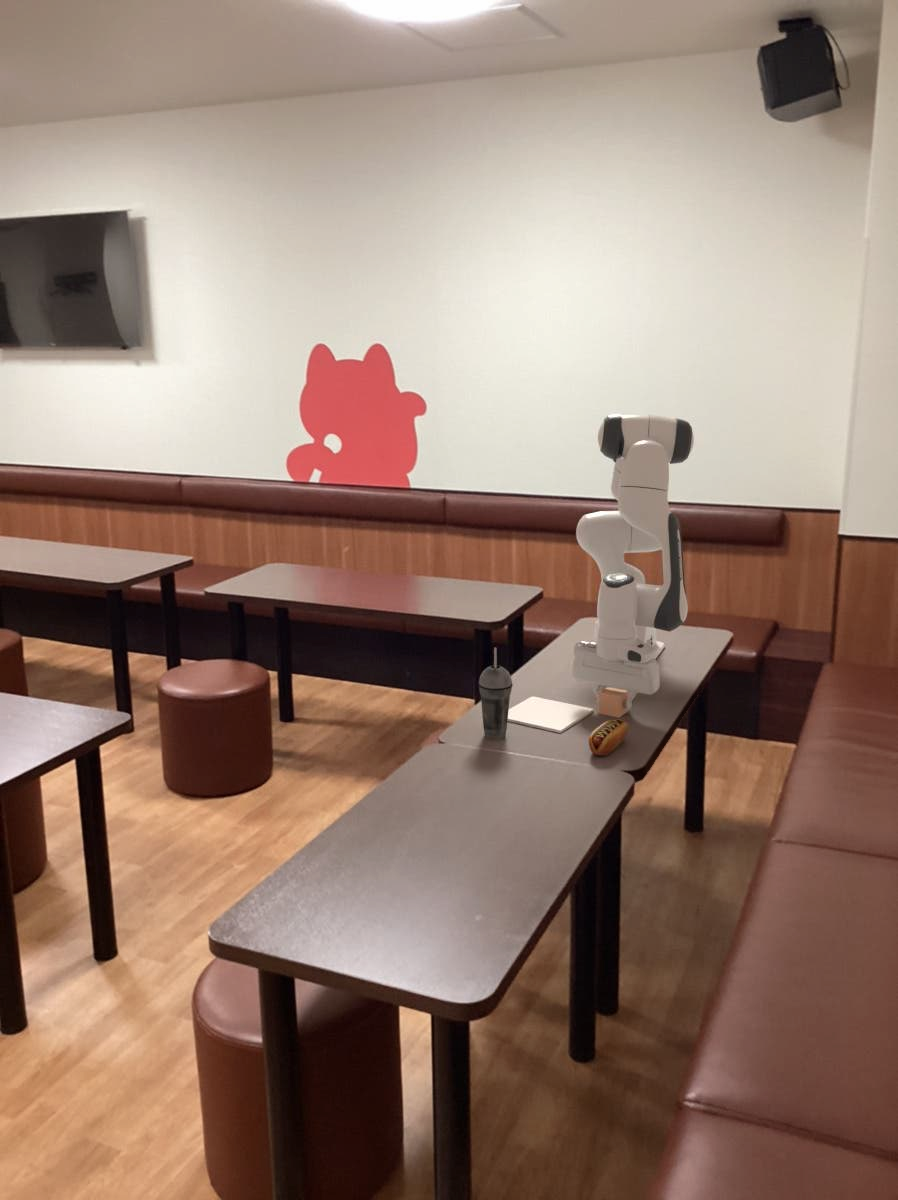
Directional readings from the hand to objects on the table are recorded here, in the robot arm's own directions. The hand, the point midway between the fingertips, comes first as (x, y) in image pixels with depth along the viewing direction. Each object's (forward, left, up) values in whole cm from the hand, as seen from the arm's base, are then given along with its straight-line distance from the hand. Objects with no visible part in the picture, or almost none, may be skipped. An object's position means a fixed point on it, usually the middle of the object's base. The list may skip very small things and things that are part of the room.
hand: (613, 705), depth 236 cm
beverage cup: (+27, -15, -2) cm, 31 cm away
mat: (+10, -12, -2) cm, 16 cm away
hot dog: (+20, +8, -2) cm, 22 cm away
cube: (0, 0, -2) cm, 2 cm away
